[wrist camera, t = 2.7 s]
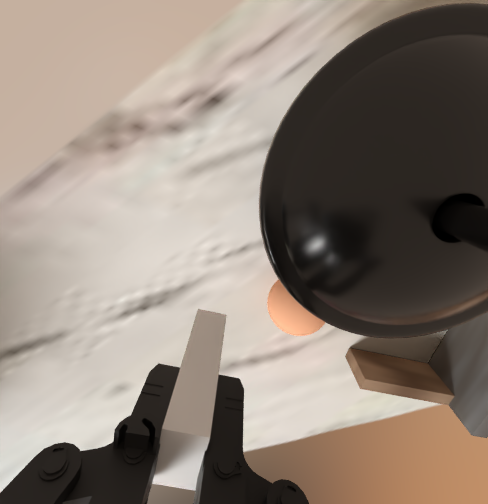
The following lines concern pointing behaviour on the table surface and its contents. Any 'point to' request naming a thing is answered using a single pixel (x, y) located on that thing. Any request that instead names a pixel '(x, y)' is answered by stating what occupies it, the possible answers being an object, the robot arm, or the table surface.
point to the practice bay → (437, 374)
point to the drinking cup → (387, 179)
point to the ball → (290, 313)
